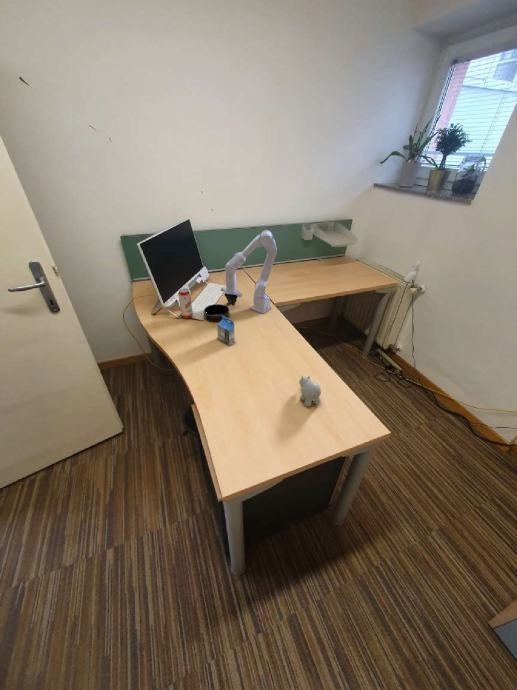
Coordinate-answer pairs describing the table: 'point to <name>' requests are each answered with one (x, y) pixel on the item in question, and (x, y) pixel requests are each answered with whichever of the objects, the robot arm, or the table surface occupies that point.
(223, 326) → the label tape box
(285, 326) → the table surface
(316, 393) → the chubby cartoon animal
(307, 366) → the table surface
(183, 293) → the beer can
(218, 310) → the pan
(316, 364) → the table surface
